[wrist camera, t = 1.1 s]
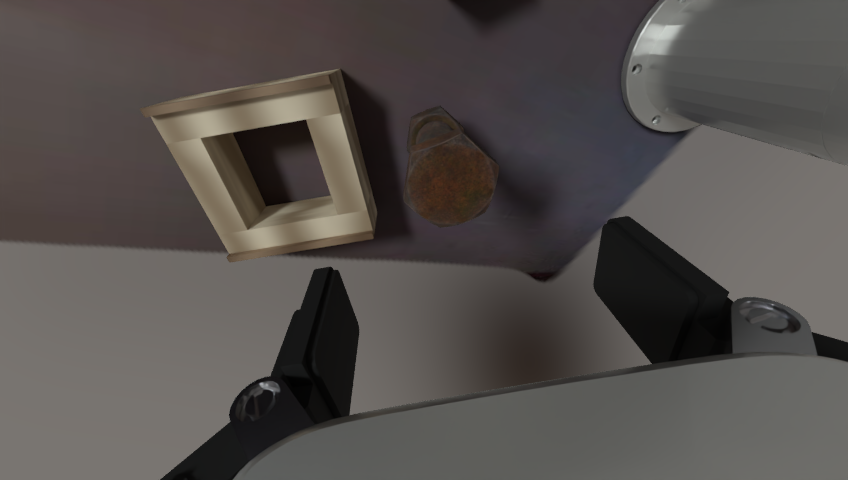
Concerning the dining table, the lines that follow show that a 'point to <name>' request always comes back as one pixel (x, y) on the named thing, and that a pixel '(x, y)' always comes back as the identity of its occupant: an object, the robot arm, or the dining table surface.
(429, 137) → the bolt
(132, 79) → the dining table surface
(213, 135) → the socket
